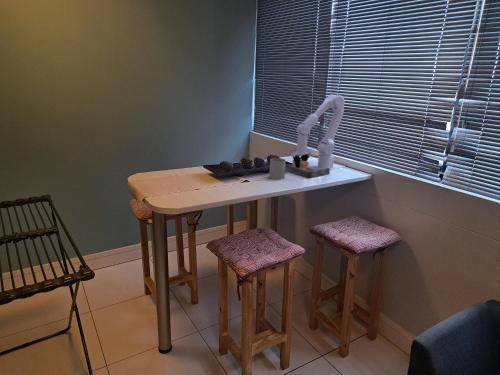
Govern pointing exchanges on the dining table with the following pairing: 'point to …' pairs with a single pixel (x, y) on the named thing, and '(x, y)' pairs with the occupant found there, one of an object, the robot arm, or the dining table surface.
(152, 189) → the dining table surface
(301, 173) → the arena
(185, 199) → the dining table surface
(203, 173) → the dining table surface
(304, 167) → the block
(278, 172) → the cup
